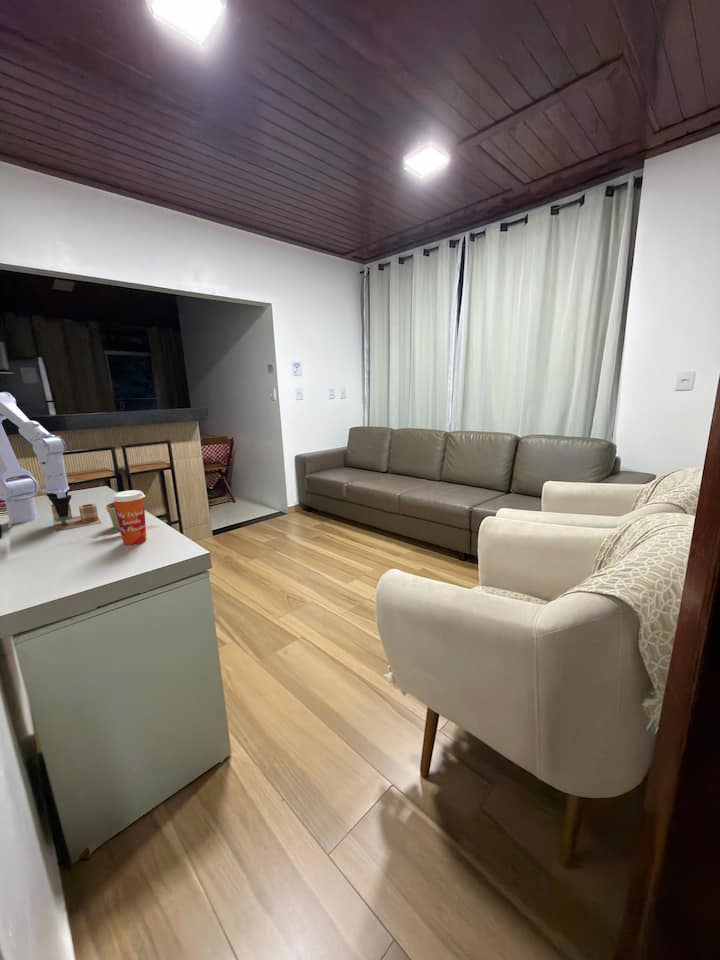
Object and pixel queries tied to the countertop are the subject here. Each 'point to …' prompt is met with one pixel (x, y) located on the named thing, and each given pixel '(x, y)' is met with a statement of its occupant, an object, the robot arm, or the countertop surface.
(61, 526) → the pin board
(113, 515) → the flower pot
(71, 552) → the countertop surface
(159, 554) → the countertop surface
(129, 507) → the coffee cup
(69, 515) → the sleeve
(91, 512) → the seated sleeve
